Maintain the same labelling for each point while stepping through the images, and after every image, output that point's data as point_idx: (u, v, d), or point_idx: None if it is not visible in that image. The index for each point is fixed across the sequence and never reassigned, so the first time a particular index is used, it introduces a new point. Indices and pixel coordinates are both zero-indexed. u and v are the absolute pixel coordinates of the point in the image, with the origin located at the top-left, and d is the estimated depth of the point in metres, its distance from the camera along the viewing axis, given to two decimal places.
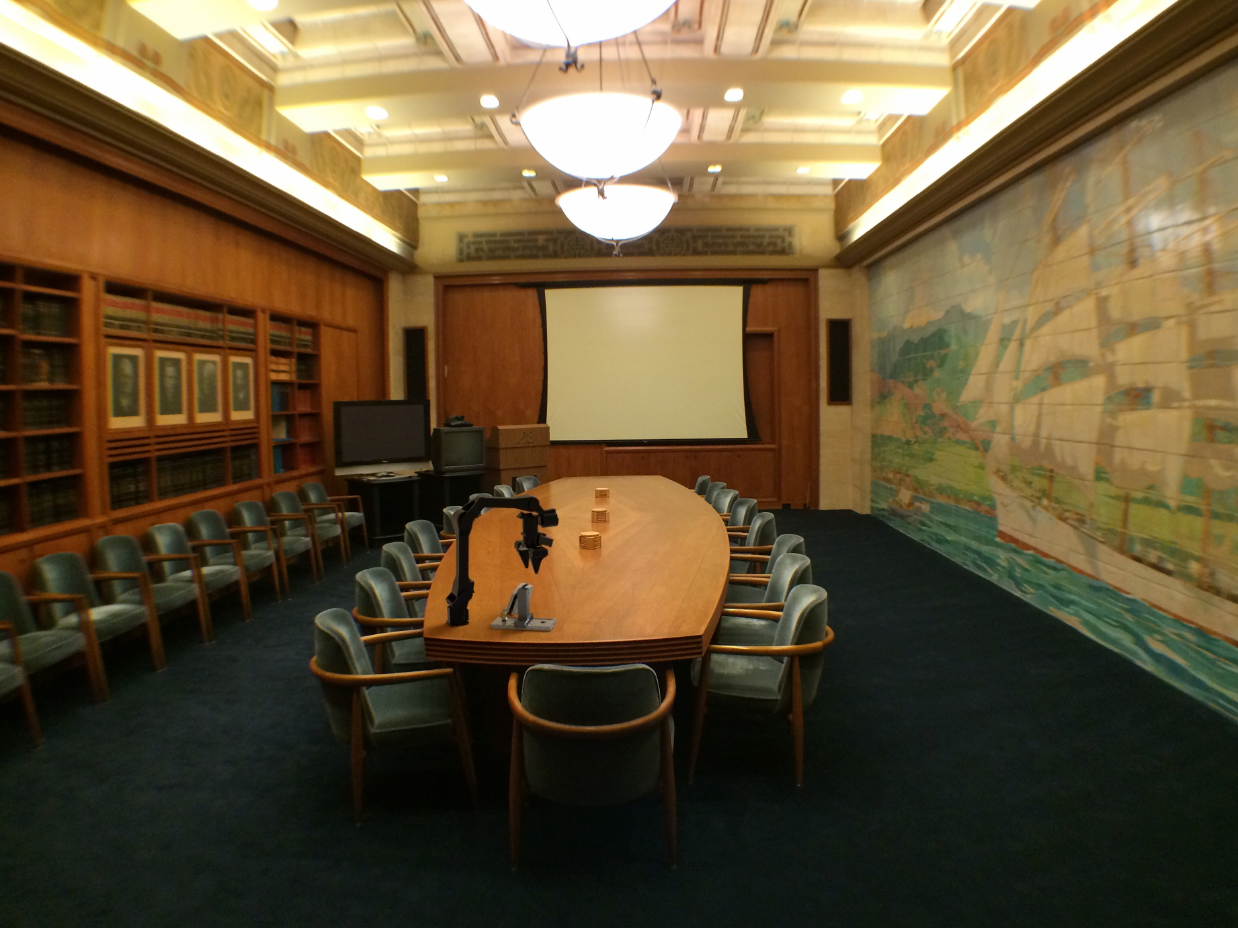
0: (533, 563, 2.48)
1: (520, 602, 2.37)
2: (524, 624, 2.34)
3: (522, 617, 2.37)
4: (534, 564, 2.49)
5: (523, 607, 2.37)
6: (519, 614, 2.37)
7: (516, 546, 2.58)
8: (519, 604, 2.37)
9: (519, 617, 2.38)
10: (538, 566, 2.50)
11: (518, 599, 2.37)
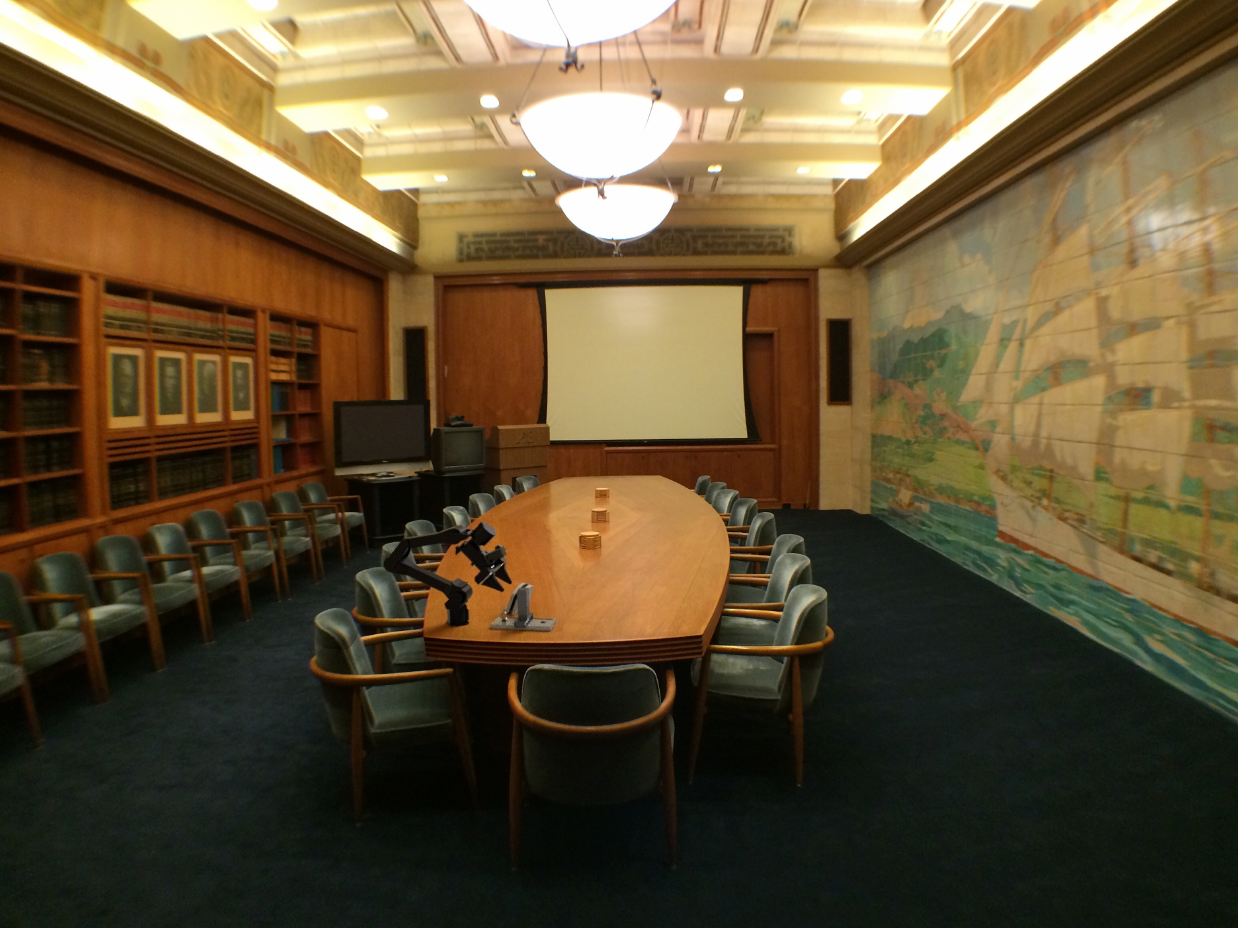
0: (489, 586, 2.33)
1: (520, 602, 2.37)
2: (524, 624, 2.34)
3: (522, 617, 2.37)
4: (491, 586, 2.33)
5: (523, 607, 2.37)
6: (519, 614, 2.37)
7: None
8: (519, 604, 2.37)
9: (519, 617, 2.38)
10: (497, 585, 2.33)
11: (518, 599, 2.37)
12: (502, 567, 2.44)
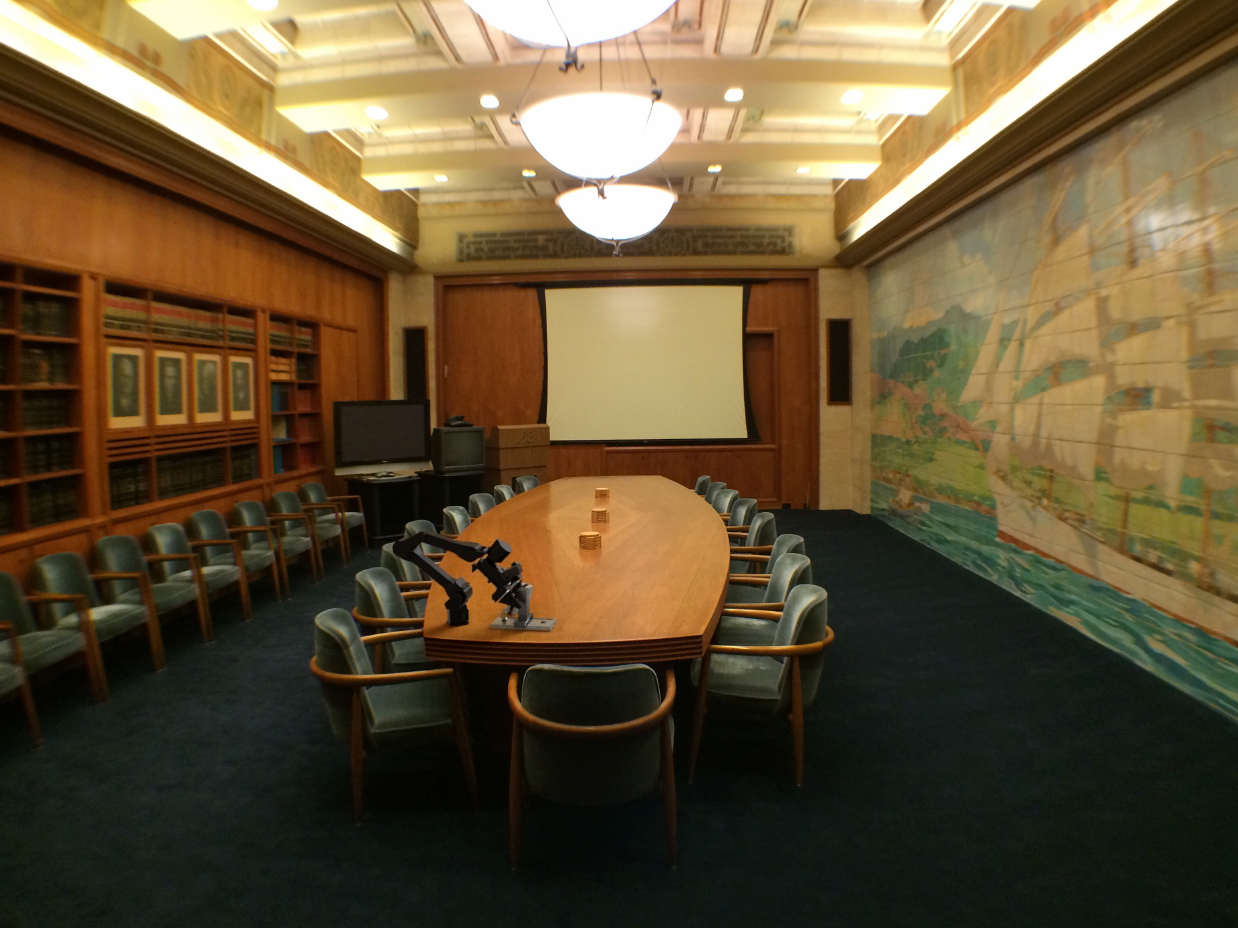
0: (507, 603, 2.33)
1: (520, 602, 2.37)
2: (524, 624, 2.34)
3: (522, 617, 2.37)
4: (509, 603, 2.33)
5: (523, 607, 2.37)
6: (519, 614, 2.37)
7: None
8: None
9: (519, 617, 2.38)
10: (514, 602, 2.33)
11: (518, 599, 2.37)
12: (519, 584, 2.43)
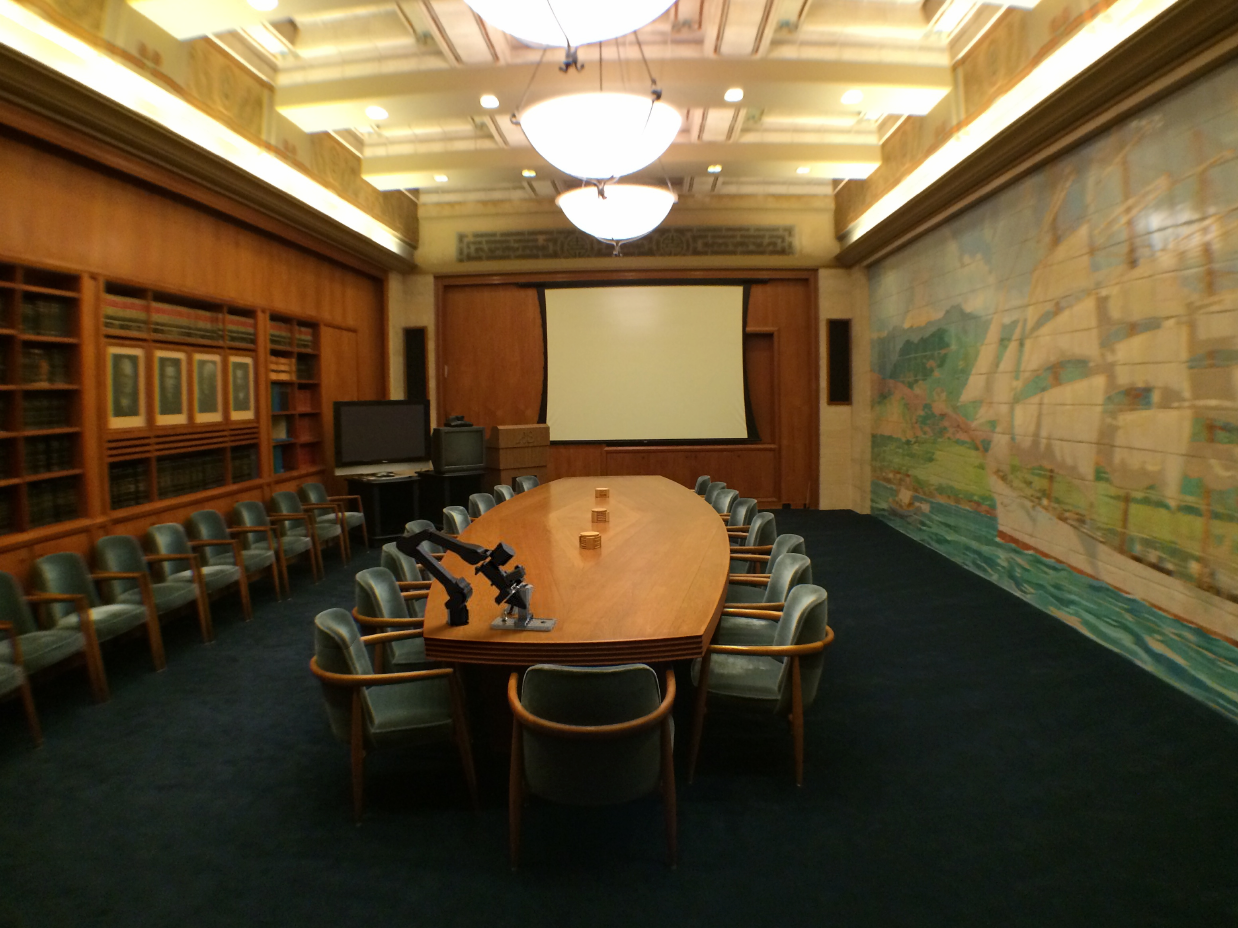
0: (512, 604, 2.36)
1: None
2: (524, 624, 2.34)
3: (522, 617, 2.37)
4: (514, 604, 2.36)
5: None
6: (519, 614, 2.37)
7: None
8: None
9: (519, 617, 2.38)
10: (520, 602, 2.36)
11: None
12: None
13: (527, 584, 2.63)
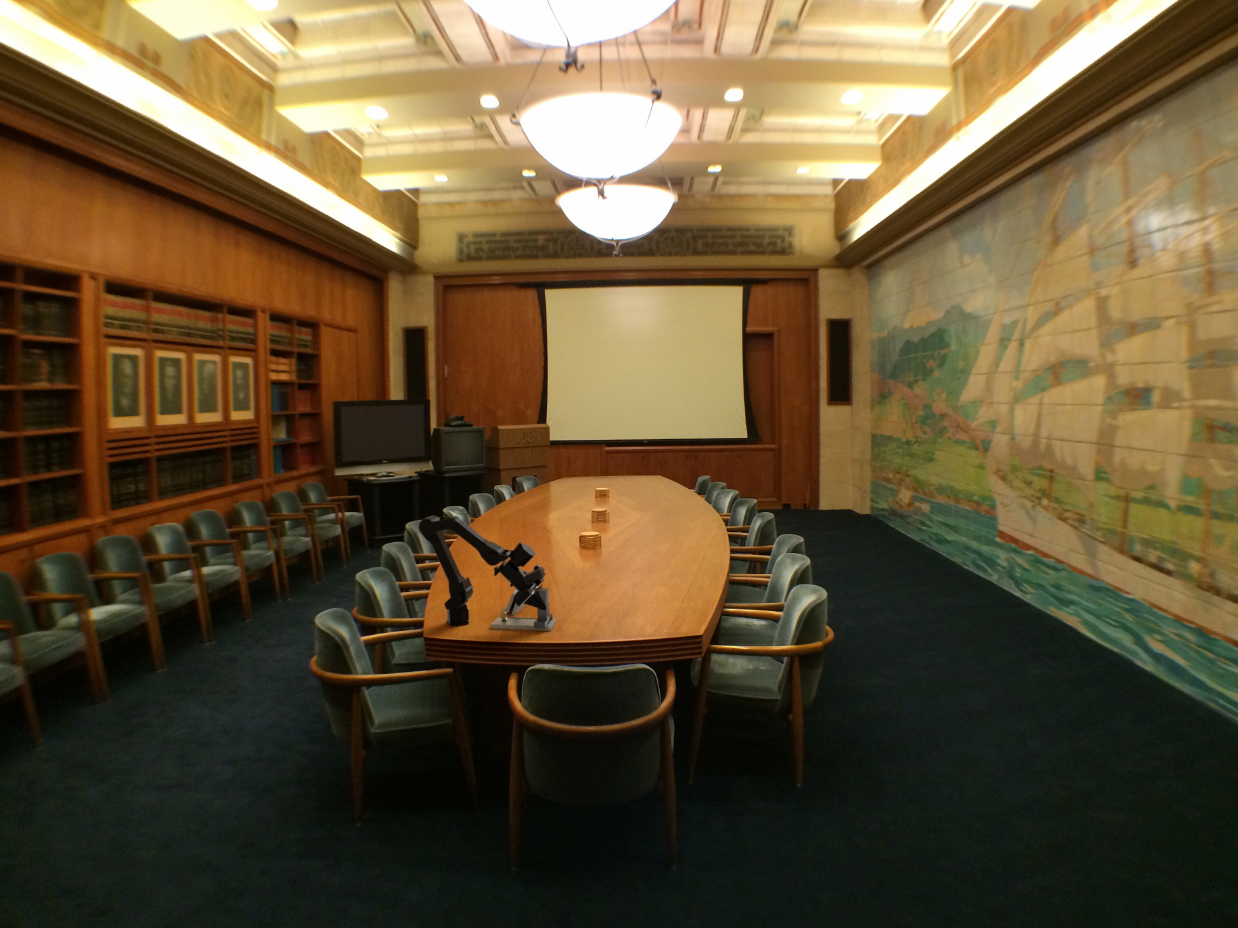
0: (532, 604, 2.35)
1: None
2: (544, 625, 2.33)
3: (542, 618, 2.36)
4: (534, 604, 2.35)
5: None
6: (539, 615, 2.36)
7: None
8: None
9: (539, 618, 2.37)
10: (539, 603, 2.35)
11: None
12: None
13: None
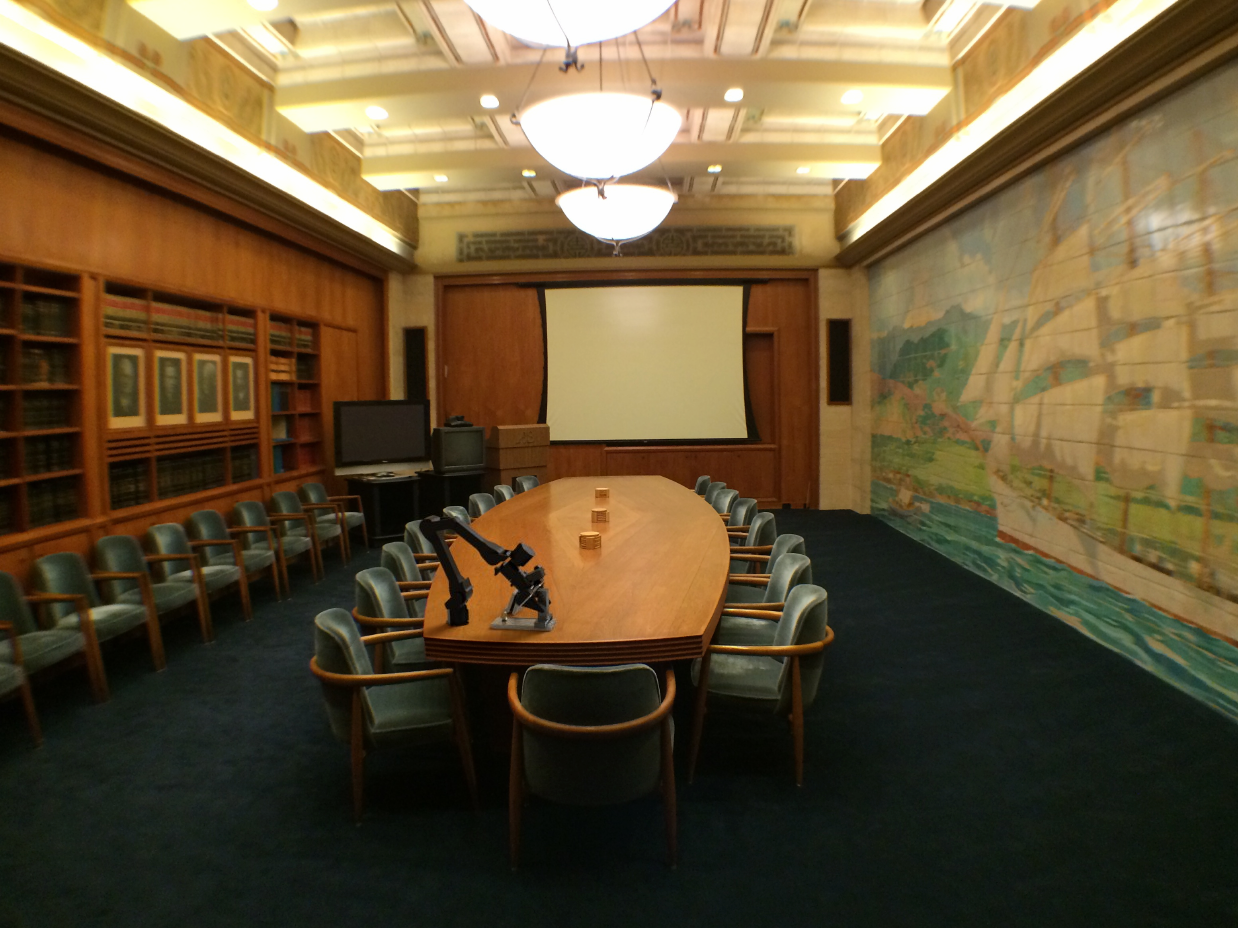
0: (530, 607, 2.32)
1: (540, 603, 2.36)
2: (544, 625, 2.33)
3: (542, 618, 2.36)
4: (532, 607, 2.32)
5: (543, 608, 2.36)
6: (539, 615, 2.36)
7: None
8: None
9: (539, 618, 2.37)
10: (537, 606, 2.32)
11: (538, 600, 2.36)
12: (541, 587, 2.42)
13: None
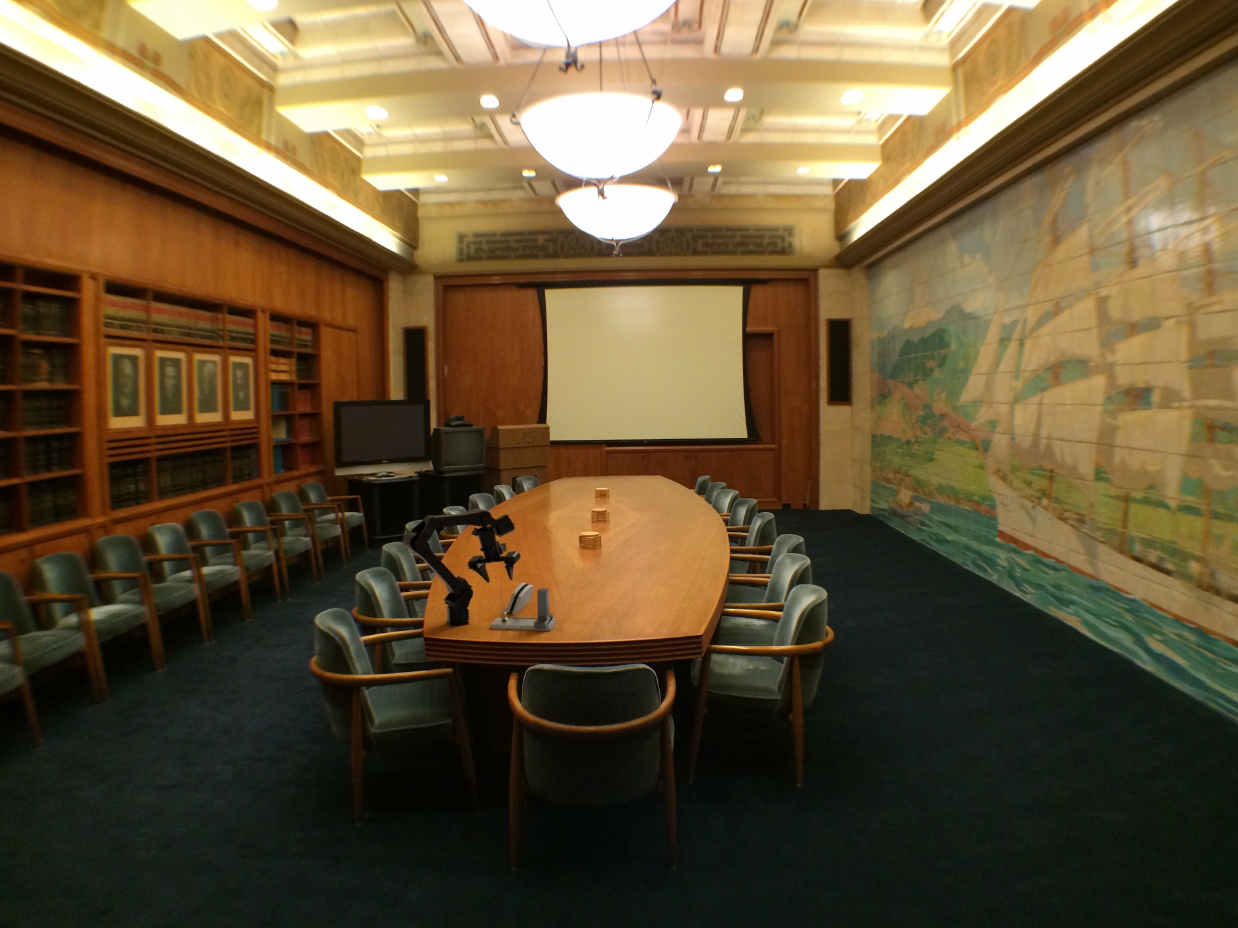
0: (510, 570, 2.48)
1: (540, 603, 2.36)
2: (544, 625, 2.33)
3: (542, 618, 2.36)
4: (510, 571, 2.48)
5: (543, 608, 2.36)
6: (539, 615, 2.36)
7: (474, 566, 2.49)
8: (539, 605, 2.36)
9: (539, 618, 2.37)
10: (512, 571, 2.50)
11: (538, 600, 2.36)
12: (484, 565, 2.53)
13: (527, 584, 2.63)
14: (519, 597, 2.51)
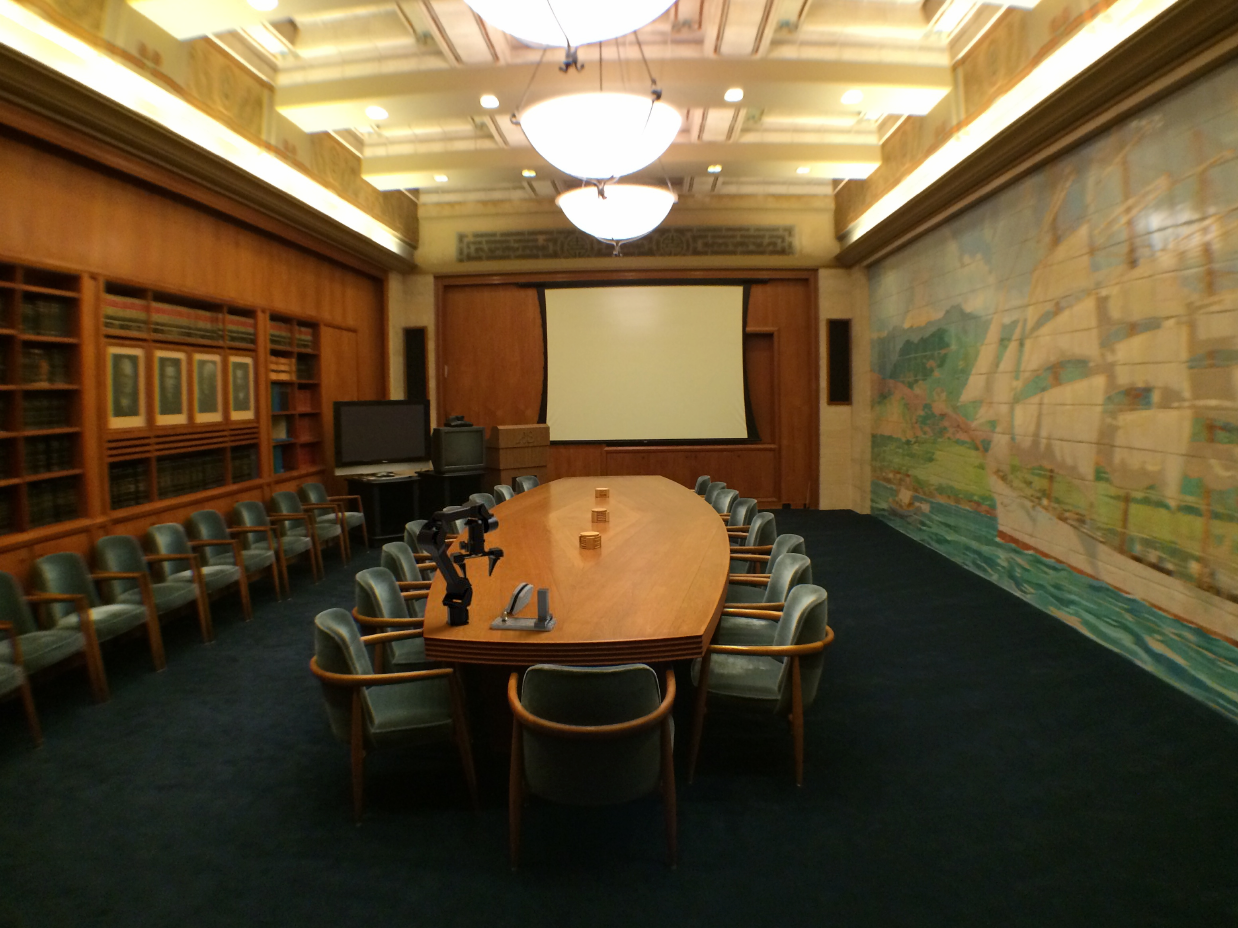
0: None
1: (540, 603, 2.36)
2: (544, 625, 2.33)
3: (542, 618, 2.36)
4: None
5: (543, 608, 2.36)
6: (539, 615, 2.36)
7: (461, 559, 2.46)
8: (539, 605, 2.36)
9: (539, 618, 2.37)
10: None
11: (538, 600, 2.36)
12: None
13: (527, 584, 2.63)
14: (519, 597, 2.51)
